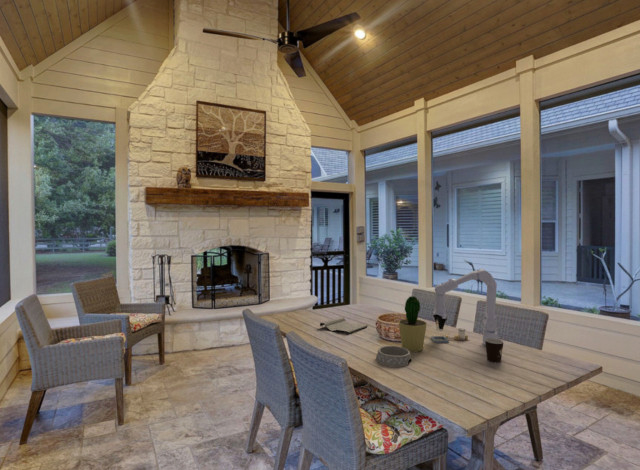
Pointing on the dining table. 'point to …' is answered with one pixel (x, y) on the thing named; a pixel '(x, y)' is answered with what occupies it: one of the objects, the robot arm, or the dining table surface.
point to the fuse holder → (457, 338)
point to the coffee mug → (494, 350)
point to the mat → (342, 325)
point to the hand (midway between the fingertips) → (439, 327)
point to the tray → (439, 340)
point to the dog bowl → (393, 356)
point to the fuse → (461, 334)
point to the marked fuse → (438, 326)
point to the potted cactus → (412, 326)
